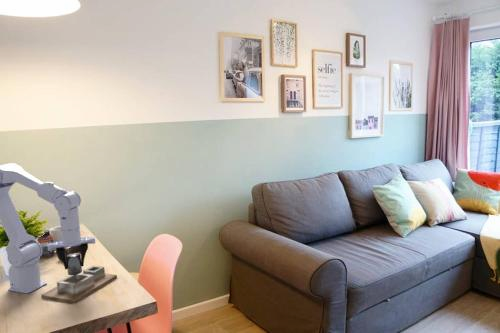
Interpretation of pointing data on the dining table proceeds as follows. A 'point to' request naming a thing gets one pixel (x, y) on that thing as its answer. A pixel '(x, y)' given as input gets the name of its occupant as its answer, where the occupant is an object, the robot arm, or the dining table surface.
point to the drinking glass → (56, 234)
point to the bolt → (71, 251)
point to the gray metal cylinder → (74, 264)
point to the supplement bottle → (44, 242)
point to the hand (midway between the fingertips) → (74, 266)
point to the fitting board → (79, 285)
